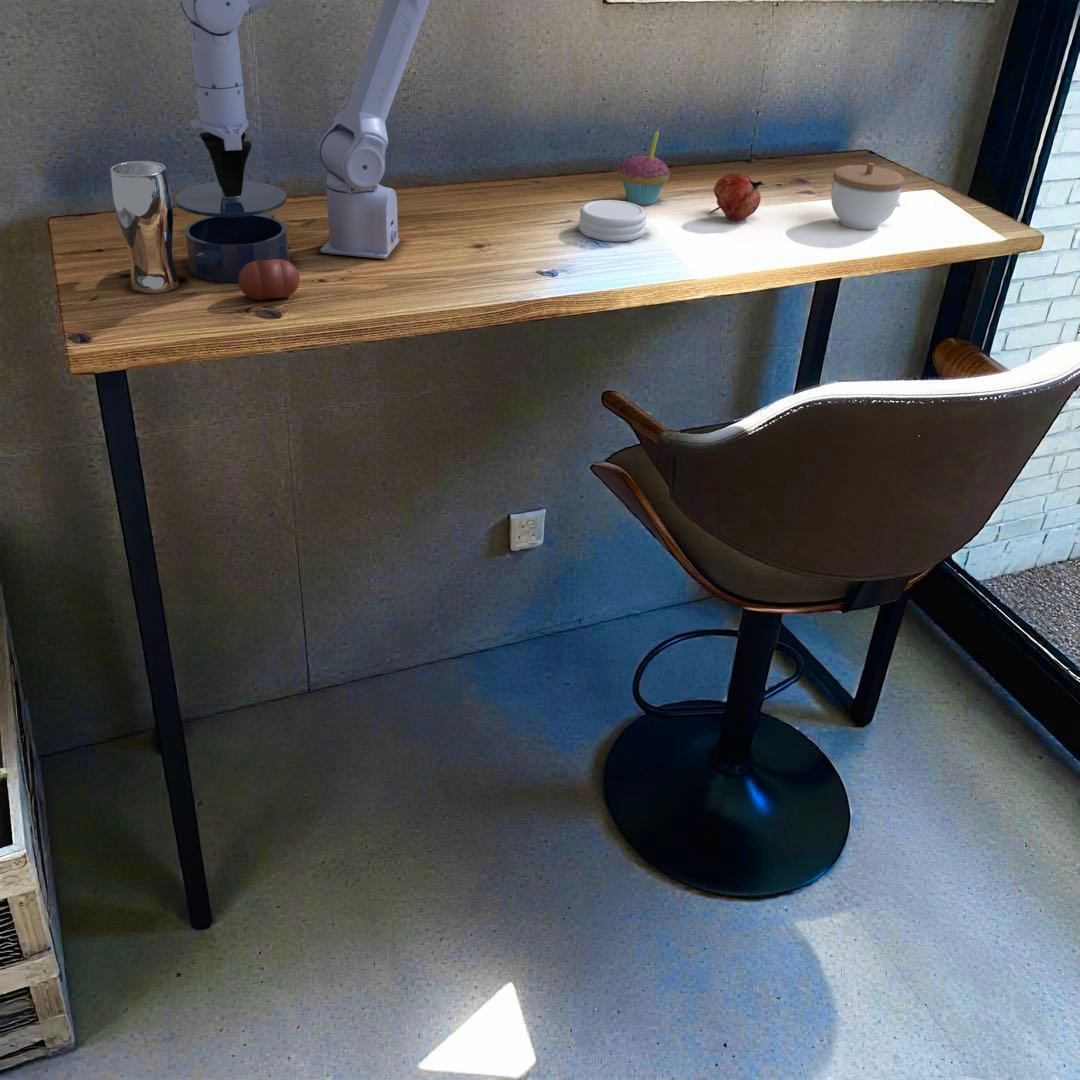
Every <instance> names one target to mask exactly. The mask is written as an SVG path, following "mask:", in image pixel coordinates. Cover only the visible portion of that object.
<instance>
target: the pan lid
mask: <svg viewBox="0 0 1080 1080" xmlns="http://www.w3.org/2000/svg"><path fill="white" fill-rule="evenodd" d="M287 199H288V197H287V193H286V192H285V191H284V189H282V188H280V187H279V186H275V185H273V184H269V183H264V182H259V181H249V180H243V187H242V193H241V196H234V197H225V195H224V193H223V190H222V187H220V185H219V182H218V181H212V182H206V183H200V184H197V185H192V186H190V187H187V188H185V189H183V190H181V191H179V192H178V193H177V194H176V196H175V204H176V206H177V208H179V209H181V210H182V211H185V212H187V213H189V214H194V215H197V216H202V217H203V216H205V217H223V218H233V217H246V216H252V215H257V214H267V213H269V212H273V211H275V210H277V209H279V208H281V207H283V206H284V205H285V204H286V203H287Z"/></svg>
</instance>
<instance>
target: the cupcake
mask: <svg viewBox="0 0 1080 1080" xmlns="http://www.w3.org/2000/svg"><path fill="white" fill-rule="evenodd" d="M659 131H660V127H657V130H656V131H655V132H654V135H653V138H652V142H651V147H650V151H649V155H644V154H643V155H640V154H638V155H633V156H629V157H626V159H623V160H622V161H621V162H620V163H619V165H618V166H617V167H618V169H617V171H616V178H617V179H618V180H620V181H621V182H622V185H623V187H624V188H623V189H624V192H625V197H626V200H627V202H629V203H633V204H636V205H638V206H640V205H641V206H642V205H643V206H649V205H653V204H655V203H656V202H657V200H658V197H659V195H660V192H661V190H662V188H663V186H664V184H666V183H667V182H669V180H670V179H669V178H670V176H671V173H672V172H671V170H670V168H669V166H668V165H667V164H666V163H665V162H664V161H663V160H661V158H658V157H656V156H655V151H656V147H657V142H658V139H659V134H660V132H659Z"/></svg>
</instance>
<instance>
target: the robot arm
mask: <svg viewBox="0 0 1080 1080" xmlns="http://www.w3.org/2000/svg"><path fill="white" fill-rule="evenodd" d="M275 1H276V0H180V1H179V7H180V10H181V12H182V14H183V15H184V17H185V18H186V19H187V21H189V31H190V37H191V38H190V39H191V43H190V44H191V45H190V47H191V54H192V63H193V64H192V65H193V71H194V79H195V81H194V82H195V88H196V95H197V105H198V114H199V118H198V119H191V120H190V127H191V128H192V129H193V130H203V131H204V132H201V133H199V137H200V138H201V141H202V142H203V143H204V146H205V148H206V149H207V151H208V153H209V155H210V158H211V162H212V166H213V168H214V172H215V175H216V180H217V182H219V185H220V187H222V190H223V193H224V195H225V197H234V196H241V193H242V187H243V181H244V177H245V176H244V175H245V167H246V163H247V160H248V157H249V154H250V152H251V151H252V142H251V141H250V140H245V139H246V137H247V133H246V130H247V129H248V128H249V119H248V118H247V111H246V102H245V91H244V83H243V80H244V79H243V73H242V72H243V71H242V61H241V50H240V44H239V35H238V28H239V27H240V25H241V23H242V21H243V17H247V16H249V15H251V14H252V13H255V12H256V11H258V10H260V9H262V8H264V7H266V6H268V5H270V4H271V3H273V2H275ZM430 1H431V0H384V2H383V4H382V7H381V10H380V13H379V16H378V19H377V22H376V24H375V27H374V30H373V33H372V35H371V37H370V41H369V44H368V47H367V49H366V53H365V54H364V58H363V61H362V64H361V67H360V70H359V72H358V75H357V78H356V81H355V84H354V87H353V90H352V92H351V95H350V98H349V99H348V100H349V101H348V103H347V105H346V106H345V108H343V109H342V110H340V111H339V112H338V114H336V116H335V117H334V120H333V122H332V125H331V126H330V127H329V129H328V130H327V131H326V132H325V133H324V134H323V136H321V138H320V140H319V143H318V147H317V156H318V159H319V162H320V164H321V165H322V167H323V168H324V169H325V170H327V171H326V172H327V175H326V179H325V185H326V186H325V188H326V189H325V190H326V204H327V206H326V207H327V220H328V221H327V223H328V237H329V238H328V240H327V242H326V243H324V245H322V247H321V248H320V249H319V251H320V253H321V254H327V255H328V254H329V255H337V256H338V255H340V256H349V257H358V258H359V257H363V258H371V259H383V260H386V259H387V258H388V257H389V256H390V254H391V253H392V252H393V250H394V249H395V248H396V246H397V245H398V244H399V242H400V238H399V223H398V221H399V219H398V197H397V193H396V190H395V189H394V188H391V187H386V186H384V185H382V184H380V182H381V180H382V179H383V177H384V175H385V171H386V151H387V148H388V144H389V138H388V132H387V127H386V121H387V118H388V116H389V114H390V110H391V107H392V104H393V102H394V99H395V97H396V93H397V91H398V88H399V85H400V84H401V80H402V77H403V75H404V72H405V69H406V68H407V67H406V66H407V63H408V62H409V58H410V55H411V54H412V53H411V52H412V50H413V48H414V45H415V42H416V39H417V36H418V34H419V32H420V28H421V26H422V24H423V23H422V22H423V20H424V17H425V14H426V12H427V10H428V7H429V4H430Z"/></svg>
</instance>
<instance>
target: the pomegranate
mask: <svg viewBox="0 0 1080 1080" xmlns="http://www.w3.org/2000/svg"><path fill="white" fill-rule="evenodd" d="M765 185H766V184H765V183H764V182H763V181H761V180H760V181H755V182H754V180H753V179H752V178H751V177H750V176H749V175H746V174H742V173H740V172H730V173H728V174H724V175H723V176H722V177H720V178H719V179H718V180H717V182H716V183H715V185H714V187H713V194H714V195H715V197H716V204H717V207H716V208H714V209H712V210H711V211H709V214H712V213H714V212H716V211H718V210H721V211H722V212H723V214H724V215H725V217H726V219H728V220H730V221H734V222H739V221H742V220H745V219H746V218H748V217H750V216H751V215H753V214H754V213H755V212H756V211H757V209H758V208H759V206H760V204H761V199H762V197H761V196H762V195H761V193H760V191H759V187H760V186H765Z"/></svg>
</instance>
